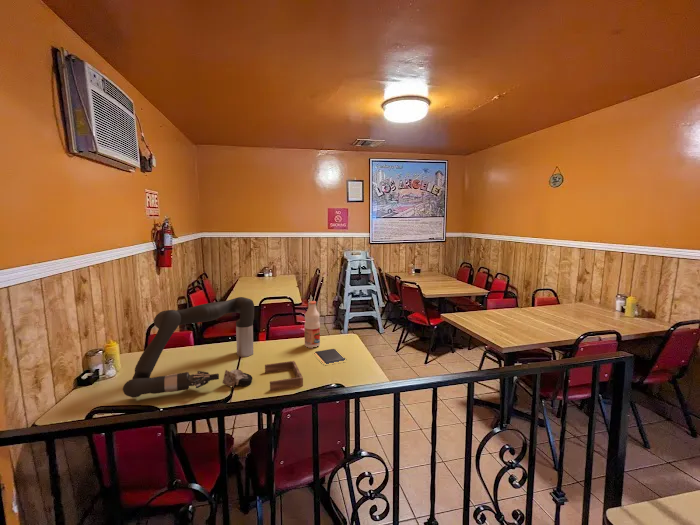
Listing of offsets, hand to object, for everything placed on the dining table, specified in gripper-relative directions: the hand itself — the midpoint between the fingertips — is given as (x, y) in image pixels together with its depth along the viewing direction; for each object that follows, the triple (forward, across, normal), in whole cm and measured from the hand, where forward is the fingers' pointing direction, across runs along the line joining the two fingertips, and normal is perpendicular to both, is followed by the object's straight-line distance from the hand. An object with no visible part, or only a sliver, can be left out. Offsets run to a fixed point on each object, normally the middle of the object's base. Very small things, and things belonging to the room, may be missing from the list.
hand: (218, 376), depth 158 cm
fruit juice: (+54, +38, +6) cm, 66 cm away
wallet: (+59, +18, +7) cm, 62 cm away
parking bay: (+29, 0, +6) cm, 30 cm away
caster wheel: (+9, +2, +6) cm, 11 cm away
